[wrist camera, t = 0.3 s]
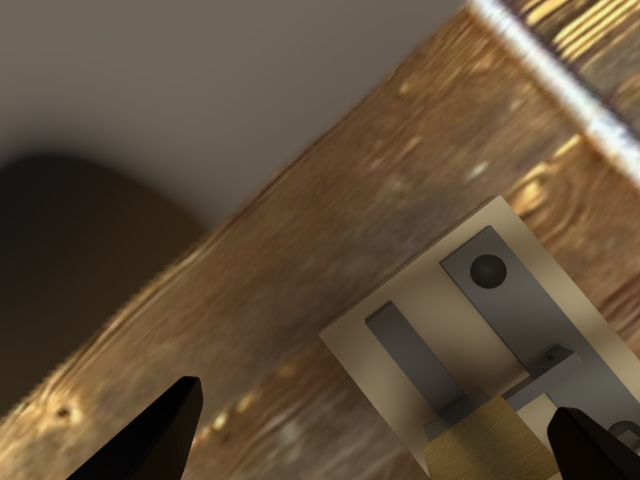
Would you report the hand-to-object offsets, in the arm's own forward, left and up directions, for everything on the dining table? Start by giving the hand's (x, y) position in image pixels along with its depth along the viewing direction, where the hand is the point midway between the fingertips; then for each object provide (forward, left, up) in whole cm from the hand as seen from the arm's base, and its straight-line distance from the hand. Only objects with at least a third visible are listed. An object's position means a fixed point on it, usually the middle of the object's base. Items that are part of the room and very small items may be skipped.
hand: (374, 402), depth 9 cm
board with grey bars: (-9, -3, -14) cm, 17 cm away
